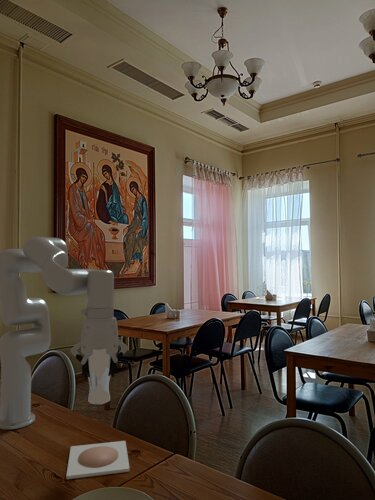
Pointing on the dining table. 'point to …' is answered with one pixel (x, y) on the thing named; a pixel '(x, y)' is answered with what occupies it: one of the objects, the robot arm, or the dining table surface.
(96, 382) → the beer glass
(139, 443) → the dining table surface
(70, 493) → the dining table surface
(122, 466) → the card
